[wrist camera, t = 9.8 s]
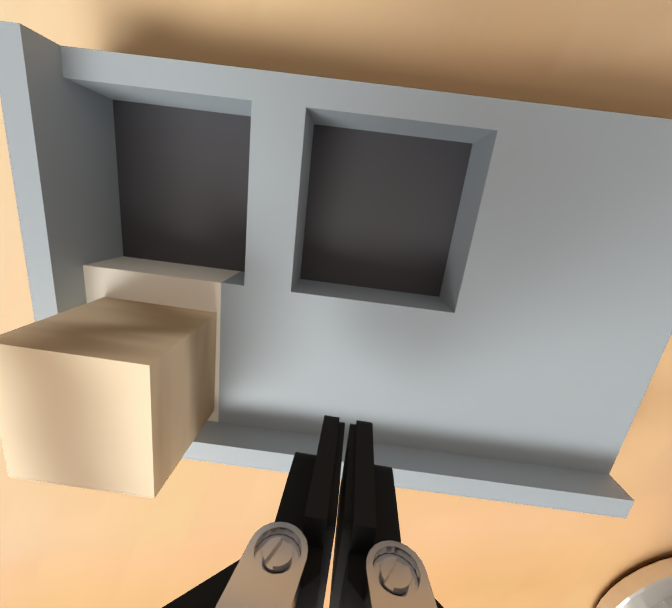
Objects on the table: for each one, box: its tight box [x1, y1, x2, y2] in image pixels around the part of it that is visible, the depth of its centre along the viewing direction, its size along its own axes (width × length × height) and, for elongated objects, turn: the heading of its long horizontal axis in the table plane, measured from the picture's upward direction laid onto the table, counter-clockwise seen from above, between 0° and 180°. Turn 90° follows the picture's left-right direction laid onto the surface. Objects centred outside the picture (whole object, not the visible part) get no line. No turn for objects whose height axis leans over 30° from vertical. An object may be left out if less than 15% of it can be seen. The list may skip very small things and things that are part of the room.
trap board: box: [0, 21, 672, 518], centre depth 15 cm, size 26×16×4 cm, turn 83°
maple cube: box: [0, 297, 217, 498], centre depth 13 cm, size 5×5×5 cm
